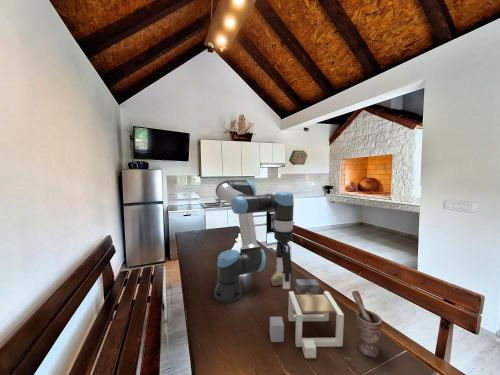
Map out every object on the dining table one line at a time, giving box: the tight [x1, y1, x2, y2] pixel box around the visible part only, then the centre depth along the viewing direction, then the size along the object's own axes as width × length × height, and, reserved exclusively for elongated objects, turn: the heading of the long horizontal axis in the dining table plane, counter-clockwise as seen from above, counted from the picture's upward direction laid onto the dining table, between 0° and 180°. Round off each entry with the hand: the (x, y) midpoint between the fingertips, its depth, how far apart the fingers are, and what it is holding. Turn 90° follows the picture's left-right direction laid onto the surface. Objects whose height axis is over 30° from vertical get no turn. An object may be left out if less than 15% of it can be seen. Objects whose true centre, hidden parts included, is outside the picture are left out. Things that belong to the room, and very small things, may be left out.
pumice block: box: [301, 339, 317, 359], centre depth 80 cm, size 4×4×4 cm
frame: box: [287, 290, 345, 348], centre depth 91 cm, size 18×16×13 cm
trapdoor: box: [294, 278, 336, 314], centre depth 94 cm, size 13×18×4 cm
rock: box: [270, 270, 283, 287], centre depth 131 cm, size 12×9×10 cm
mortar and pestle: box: [351, 290, 383, 359], centre depth 83 cm, size 12×9×20 cm
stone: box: [269, 316, 285, 343], centre depth 88 cm, size 5×5×7 cm
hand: (282, 279), depth 90 cm, fingers open, 13 cm apart
